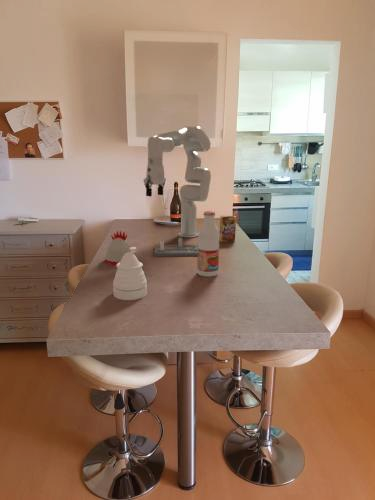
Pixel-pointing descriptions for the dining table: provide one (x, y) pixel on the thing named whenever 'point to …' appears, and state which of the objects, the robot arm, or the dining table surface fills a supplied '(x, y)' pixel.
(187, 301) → the dining table surface
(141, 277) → the honey pot
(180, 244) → the fader
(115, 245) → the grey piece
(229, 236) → the candy box
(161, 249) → the fader
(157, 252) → the console
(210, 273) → the fruit juice
